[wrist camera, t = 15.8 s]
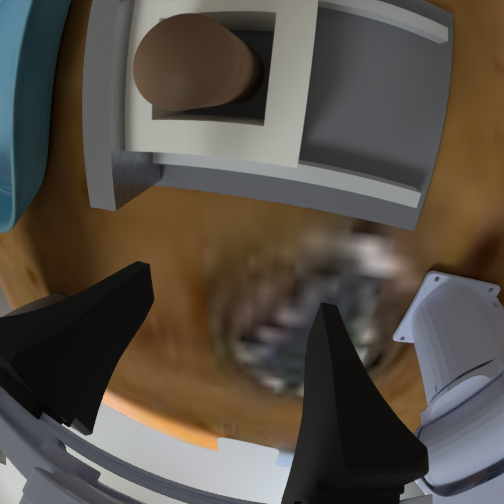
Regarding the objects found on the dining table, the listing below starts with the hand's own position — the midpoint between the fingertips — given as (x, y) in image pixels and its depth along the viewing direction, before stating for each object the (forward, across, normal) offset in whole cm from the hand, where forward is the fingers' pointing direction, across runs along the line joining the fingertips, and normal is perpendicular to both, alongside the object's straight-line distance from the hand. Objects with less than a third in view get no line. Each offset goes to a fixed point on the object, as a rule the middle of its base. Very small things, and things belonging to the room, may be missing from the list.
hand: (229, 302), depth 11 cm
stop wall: (+8, +8, -9) cm, 15 cm away
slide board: (+9, 0, -9) cm, 13 cm away
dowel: (+8, +3, -9) cm, 13 cm away
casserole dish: (+10, +28, -14) cm, 33 cm away
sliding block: (+8, +3, -9) cm, 13 cm away
